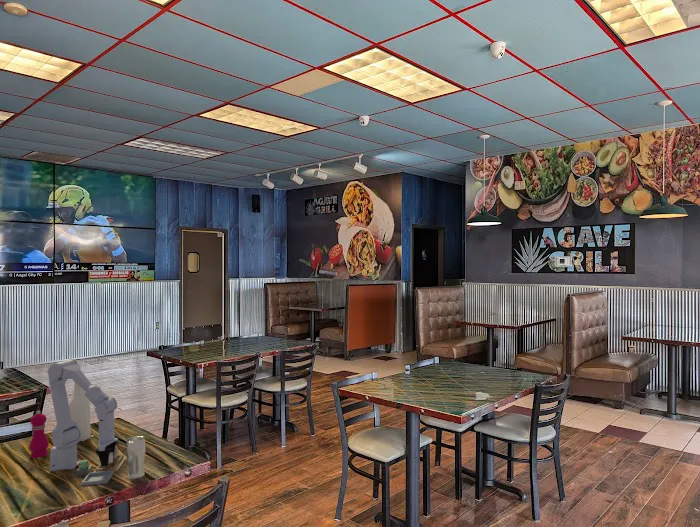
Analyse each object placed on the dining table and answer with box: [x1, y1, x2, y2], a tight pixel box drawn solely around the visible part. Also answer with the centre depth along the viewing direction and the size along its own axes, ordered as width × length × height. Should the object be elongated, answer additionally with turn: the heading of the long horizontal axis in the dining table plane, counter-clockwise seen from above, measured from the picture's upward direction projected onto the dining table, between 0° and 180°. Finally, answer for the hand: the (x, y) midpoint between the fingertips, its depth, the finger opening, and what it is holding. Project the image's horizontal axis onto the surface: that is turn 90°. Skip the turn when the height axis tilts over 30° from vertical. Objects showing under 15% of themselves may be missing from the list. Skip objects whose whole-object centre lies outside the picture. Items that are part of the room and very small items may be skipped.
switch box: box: [75, 464, 94, 477], centre depth 201 cm, size 5×5×3 cm
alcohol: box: [68, 382, 92, 443], centre depth 241 cm, size 9×9×30 cm
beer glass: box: [125, 435, 146, 480], centre depth 198 cm, size 7×7×15 cm
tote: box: [80, 470, 115, 487], centre depth 195 cm, size 9×9×2 cm
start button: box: [79, 459, 89, 469], centre depth 201 cm, size 3×3×4 cm
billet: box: [102, 451, 113, 468], centre depth 204 cm, size 4×4×6 cm
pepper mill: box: [28, 410, 50, 459], centre depth 222 cm, size 7×7×20 cm
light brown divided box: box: [93, 445, 127, 473], centre depth 208 cm, size 9×14×7 cm, turn 10°
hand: (107, 462), depth 204 cm, fingers open, 7 cm apart
